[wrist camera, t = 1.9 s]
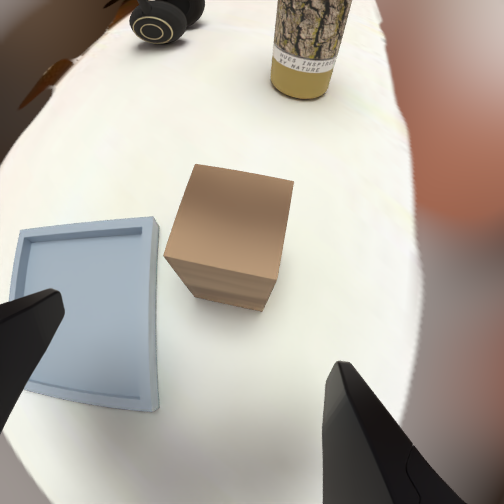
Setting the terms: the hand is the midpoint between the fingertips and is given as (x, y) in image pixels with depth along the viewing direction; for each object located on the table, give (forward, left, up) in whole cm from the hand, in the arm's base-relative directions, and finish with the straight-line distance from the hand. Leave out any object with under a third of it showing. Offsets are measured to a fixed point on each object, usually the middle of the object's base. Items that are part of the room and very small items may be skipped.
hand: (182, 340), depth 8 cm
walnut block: (+6, -2, -12) cm, 14 cm away
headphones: (+44, +7, -12) cm, 46 cm away
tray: (+3, +11, -12) cm, 17 cm away
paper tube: (+28, -10, -12) cm, 32 cm away
